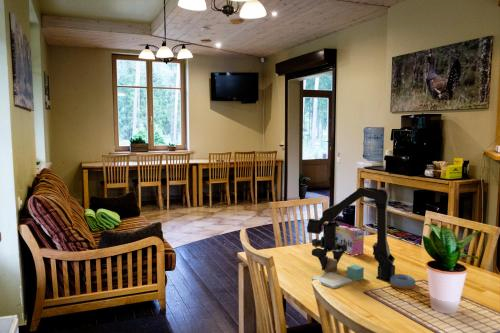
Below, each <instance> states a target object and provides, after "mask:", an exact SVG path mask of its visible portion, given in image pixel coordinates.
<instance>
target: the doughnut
mask: <svg viewBox="0 0 500 333" xmlns="http://www.w3.org/2000/svg"><path fill="white" fill-rule="evenodd" d="M390 284H391V286H392V287H394V288H395V289H399V290H412V289H414V288H415V286H416V280H415V278H414V277H412V276H411V275H408V274H405V273H404V274H402V273H395V275H393V276H391V278H390Z"/></svg>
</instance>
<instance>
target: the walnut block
mask: <svg viewBox="0 0 500 333" xmlns="http://www.w3.org/2000/svg"><path fill="white" fill-rule="evenodd" d="M336 270H337V271H338V264H337V260H335V259H333V257H332V258H331V257H328V259H327V264H326V268H325V270H324V272H326V271H327V272H326V273H329V272H331V273H334V272H336ZM321 271H323V269H322V268H321ZM333 271H334V272H333Z"/></svg>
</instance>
